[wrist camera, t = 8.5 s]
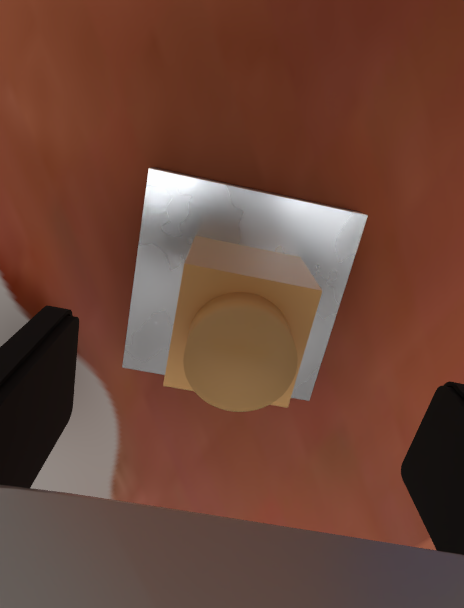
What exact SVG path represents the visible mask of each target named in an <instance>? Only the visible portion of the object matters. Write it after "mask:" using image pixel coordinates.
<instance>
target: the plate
mask: <svg viewBox="0 0 464 608" xmlns="http://www.w3.org/2000/svg"><path fill="white" fill-rule="evenodd" d="M367 217H368V215H366V214H364V213H362V212H359V211H355V210H350V209H345V208H341V207H336V206H331V205H327V204H322V203H318V202H313V201H308V200H304V199H299V198H294V197H290V196H285V195H280V194H276V193H271V192H266V191H262V190H257V189H253V188H248V187H243V186H239V185H234V184H229V183H225V182H220V181H215V180H211V179H206V178H201V177H197V176H192V175H187V174H183V173H178V172H174V171H169V170H164V169H160V168H155V167H152V168H149V170H148V177H147V185H146V192H145V200H144V207H143V215H142V223H141V230H140V238H139V245H138V253H137V260H136V268H135V275H134V283H133V291H132V298H131V306H130V313H129V321H128V328H127V336H126V343H125V351H124V359H123V366H122V367H123V368H129V369H134V370H140V371H146V372H151V373H157V374H162V375H165V372H166V366H167V360H168V354H169V349H170V343H171V337H172V331H173V325H174V320H175V314H176V308H177V302H178V296H179V291H180V285H181V279H182V273H183V268H184V263H185V260H186V258H187V255H188V253H189V250H190V248H191V245H192V243H193V241H194V238H195V236H200V237H205V238H210V239H215V240H219V241H224V242H229V243H234V244H239V245H244V246H249V247H254V248H259V249H264V250H268V251H273V252H278V253H283V254H288V255H293V256H298V257H301V258H302V260H303V262H304V263H305V265H306V266H307V268H308V269H309V271H310V272H311V274H312V275H313V277H314V278H315V280H316V282H317V283H318V285H319V286H320V288H321V289H322V294H321V297H320V301H319V304H318V308H317V311H316V314H315V318H314V321H313V324H312V328H311V331H310V335H309V338H308V341H307V345H306V348H305V351H304V355H303V358H302V361H301V365H300V368H299V372H298V375H297V378H296V382H295V385H294V388H293V392H292V395H291V398H296V399H302V400H308V401H309V400H310V397H311V394H312V391H313V387H314V384H315V381H316V378H317V375H318V372H319V368H320V365H321V362H322V359H323V356H324V353H325V349H326V346H327V343H328V340H329V337H330V334H331V330H332V327H333V324H334V321H335V318H336V315H337V311H338V308H339V305H340V302H341V299H342V296H343V292H344V289H345V286H346V283H347V280H348V277H349V273H350V270H351V267H352V264H353V261H354V258H355V254H356V251H357V248H358V245H359V242H360V239H361V235H362V232H363V229H364V226H365V223H366V220H367Z"/></svg>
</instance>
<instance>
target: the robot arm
mask: <svg viewBox="0 0 464 608" xmlns="http://www.w3.org/2000/svg"><path fill="white" fill-rule="evenodd" d="M78 331H79V318H78V317H74V316H72V311H71V310H68V309H63V308H57V307H52V306H45V307H44V308H43V309H42V310H41V311H40V312H38V313H37V314H36V315H35V316H34V317H33V318H32V319H31V320H30V321H29V322H28V323H27V324H25V325H24V326H23V327H22V328H21V329H20V330H19V331H18V332H17V333H16V334H14V335H13V336H12V337H11V338H10V339H9V340H8V341H7V342H6V343H5V344H3V345H2V346H1V347H0V608H464V384H460V383H454V382H447V383H446V384H445V385H444V386H440V387H438V388H437V390H436V392H435V394H434V396H433V398H432V400H431V403H430V405H429V407H428V409H427V411H426V413H425V416H424V418H423V420H422V422H421V424H420V426H419V428H418V431H417V433H416V435H415V437H414V439H413V441H412V444H411V446H410V448H409V450H408V452H407V454H406V457H405V459H404V461H403V463H402V466H401V475H402V479H403V481H404V483H405V485H406V487H407V489H408V491H409V494H410V496H411V498H412V500H413V502H414V504H415V506H416V508H417V510H418V512H419V514H420V516H421V518H422V520H423V523H424V525H425V527H426V529H427V531H428V533H429V535H430V537H431V539H432V541H433V543H434V545H435V547H436V550H437V551H436V550H430V549H423V548H417V547H411V546H404V545H398V544H392V543H385V542H379V541H373V540H367V539H360V538H354V537H348V536H342V535H335V534H329V533H322V532H316V531H310V530H303V529H297V528H291V527H284V526H278V525H272V524H265V523H259V522H253V521H247V520H240V519H234V518H228V517H221V516H215V515H209V514H202V513H196V512H189V511H183V510H176V509H170V508H163V507H157V506H150V505H143V504H137V503H130V502H124V501H117V500H111V499H104V498H98V497H91V496H85V495H78V494H72V493H64V492H56V491H48V490H38V489H31V488H30V487H31V485H32V483H33V482H34V480H35V478H36V477H37V475H38V473H39V471H40V470H41V468H42V466H43V464H44V463H45V461H46V459H47V458H48V456H49V454H50V452H51V451H52V449H53V447H54V445H55V444H56V442H57V440H58V439H59V437H60V435H61V433H62V432H63V430H64V428H65V427H66V425H67V423H68V421H69V419H70V416H71V412H72V408H73V396H74V383H75V370H76V357H77V344H78Z"/></svg>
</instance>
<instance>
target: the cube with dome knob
mask: <svg viewBox="0 0 464 608" xmlns="http://www.w3.org/2000/svg"><path fill="white" fill-rule="evenodd" d="M321 294H322V289H321V288H320V286H319V285H318V283H317V282H316V280H315V278H314V277H313V275H312V274H311V272H310V271H309V269H308V268H307V266H306V265H305V263H304V262H303V260H302V258H301V257H298V256H293V255H288V254H283V253H278V252H273V251H268V250H264V249H259V248H254V247H249V246H244V245H239V244H234V243H229V242H224V241H219V240H215V239H210V238H205V237H200V236H195V238H194V241H193V243H192V245H191V248H190V250H189V253H188V255H187V258H186V260H185V263H184V268H183V273H182V279H181V285H180V291H179V296H178V302H177V308H176V314H175V320H174V325H173V331H172V337H171V343H170V349H169V354H168V360H167V366H166V372H165V378H164V383H163V386H168V387H173V388H179V389H185V390H190V391H195V393H196V394H197V395H198V396H199V397H200V398H202V399H203V400H204V401H206V402H207V403H209V404H211V405H213V406H215V407H217V408H220V409H223V410H227V411H234V412H246V411H253V410H257V409H260V408H263V407H265V406H267V405H275V406H281V407H287V408H288V405H289V402H290V399H291V395H292V392H293V388H294V385H295V382H296V378H297V375H298V372H299V368H300V365H301V361H302V358H303V355H304V351H305V348H306V345H307V341H308V338H309V335H310V331H311V328H312V324H313V321H314V318H315V314H316V311H317V308H318V304H319V301H320V297H321Z"/></svg>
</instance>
